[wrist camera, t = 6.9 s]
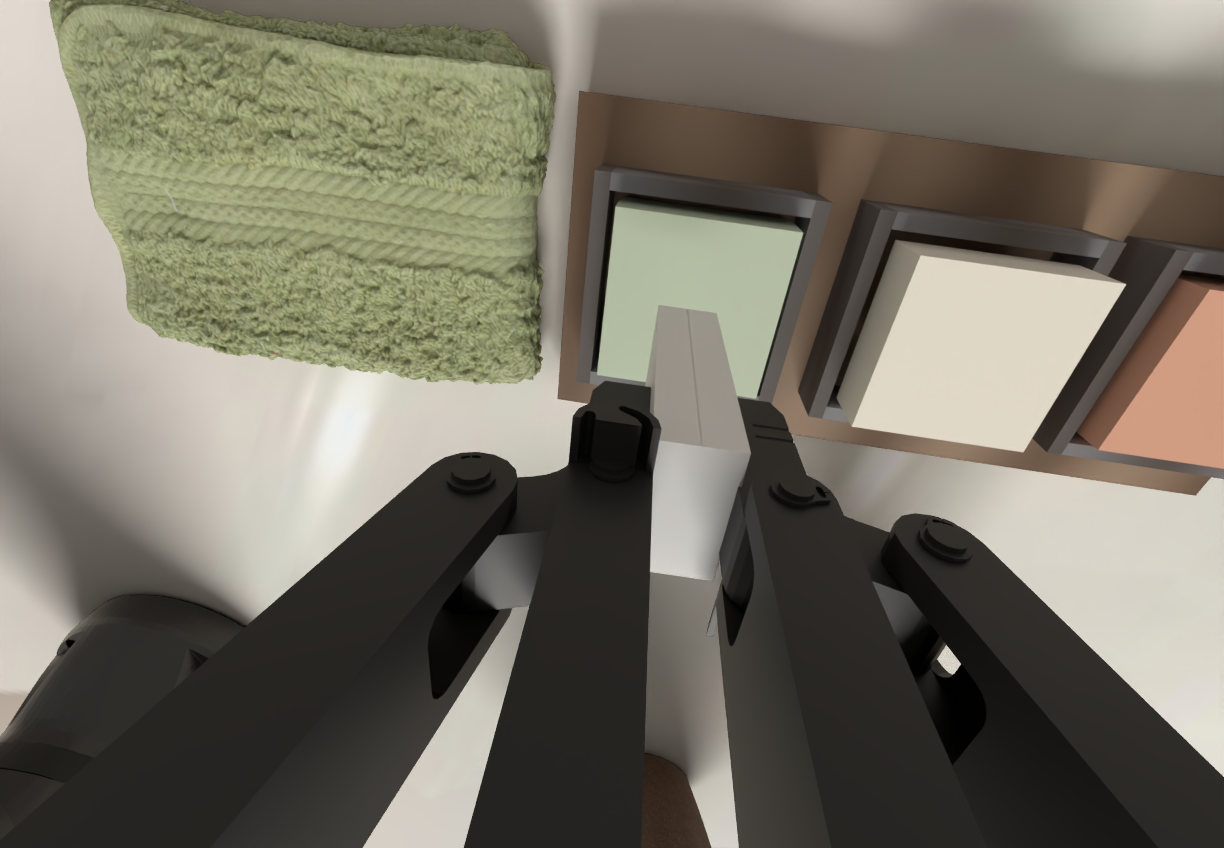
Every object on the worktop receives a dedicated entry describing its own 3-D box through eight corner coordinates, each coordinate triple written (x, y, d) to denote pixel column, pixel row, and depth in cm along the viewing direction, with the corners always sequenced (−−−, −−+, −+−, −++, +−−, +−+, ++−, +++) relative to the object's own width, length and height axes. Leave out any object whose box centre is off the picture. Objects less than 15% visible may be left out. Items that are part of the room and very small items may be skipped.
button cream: (836, 397, 19) (851, 426, 18) (895, 239, 16) (920, 255, 15) (992, 421, 19) (1023, 452, 17) (1079, 265, 16) (1126, 284, 15)
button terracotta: (1061, 420, 20) (1098, 449, 18) (1156, 270, 17) (1210, 289, 15) (1215, 442, 20) (1266, 475, 18) (1337, 296, 17) (1411, 317, 15)
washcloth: (68, -18, 19) (-36, -40, 16) (565, 38, 18) (545, 26, 16) (182, 333, 26) (123, 360, 23) (549, 383, 25) (533, 417, 22)
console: (566, 378, 24) (547, 423, 21) (588, 92, 19) (568, 89, 15) (1157, 466, 23) (1239, 528, 20) (1369, 196, 18) (1534, 217, 14)
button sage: (603, 352, 20) (597, 374, 19) (621, 196, 18) (615, 206, 16) (749, 373, 20) (756, 398, 19) (791, 219, 17) (803, 232, 16)
